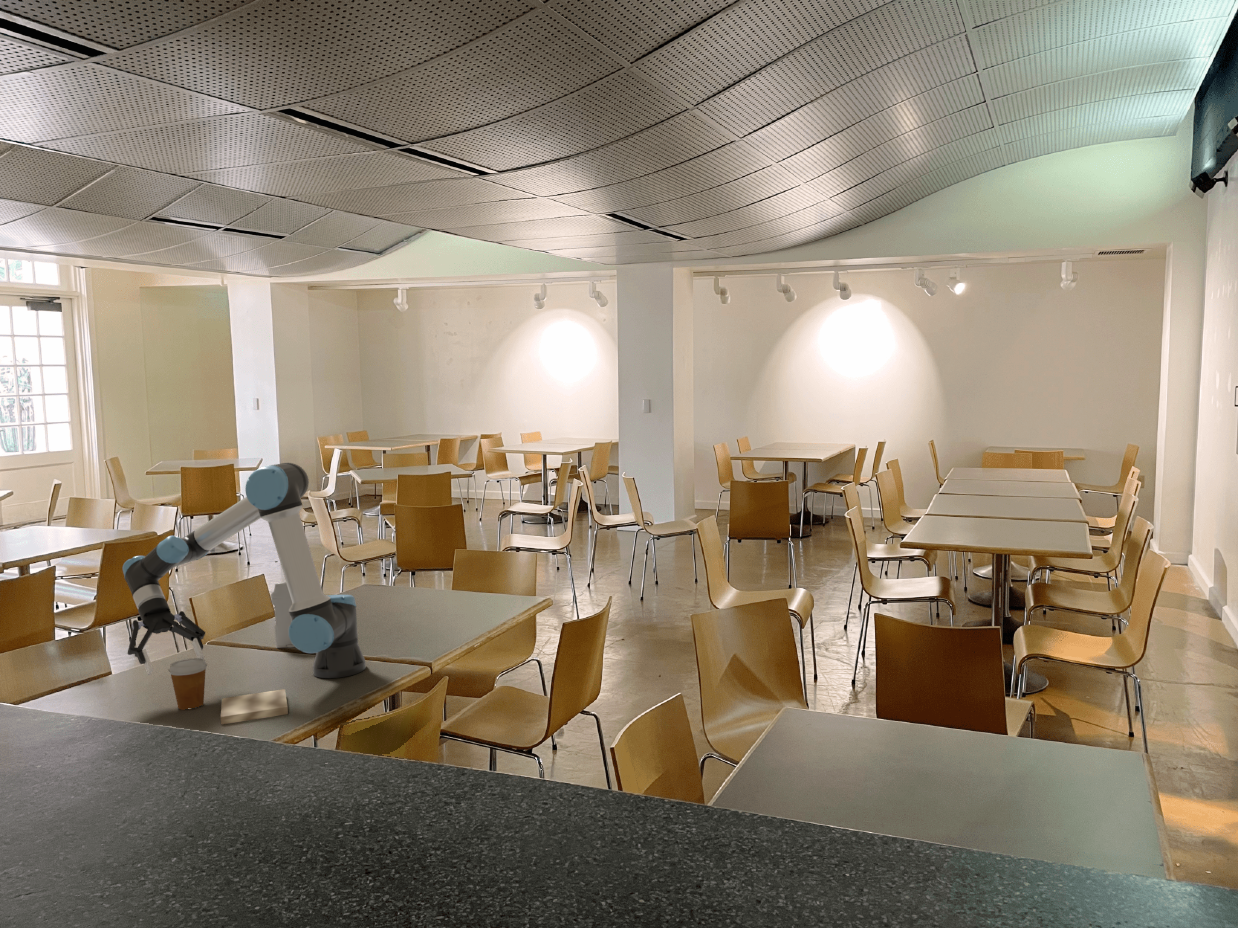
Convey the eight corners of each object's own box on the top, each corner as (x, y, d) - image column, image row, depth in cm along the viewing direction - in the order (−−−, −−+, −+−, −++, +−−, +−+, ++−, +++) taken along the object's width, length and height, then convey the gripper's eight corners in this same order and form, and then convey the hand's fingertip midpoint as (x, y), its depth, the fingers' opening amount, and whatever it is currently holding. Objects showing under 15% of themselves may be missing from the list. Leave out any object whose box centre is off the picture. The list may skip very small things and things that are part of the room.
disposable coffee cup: (182, 714, 242) (179, 670, 241) (164, 708, 248) (161, 664, 247) (217, 703, 249) (213, 660, 248) (198, 697, 255) (195, 655, 254)
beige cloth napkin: (285, 695, 254) (285, 688, 254) (287, 713, 239) (287, 706, 239) (222, 705, 248) (222, 698, 248) (221, 724, 233) (220, 716, 233)
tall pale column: (274, 649, 302) (269, 583, 301) (274, 646, 306) (270, 581, 305) (308, 645, 306) (303, 580, 304) (308, 642, 310) (304, 578, 308)
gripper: (193, 603, 271) (218, 662, 262) (101, 621, 253) (125, 685, 244) (199, 588, 267) (225, 647, 258) (106, 605, 249) (130, 669, 240)
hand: (176, 665), depth 251 cm, fingers open, 13 cm apart
